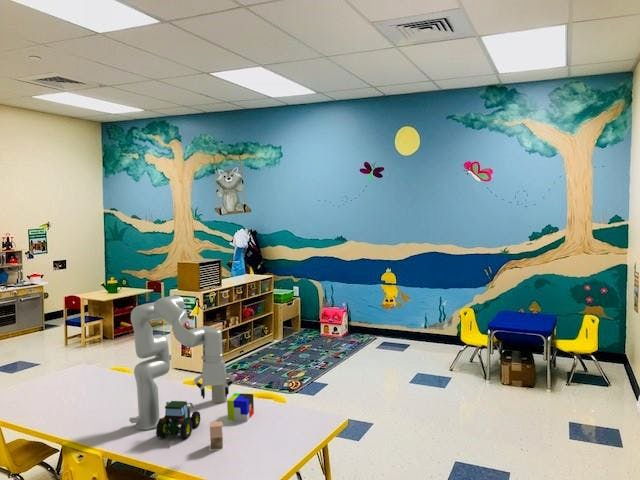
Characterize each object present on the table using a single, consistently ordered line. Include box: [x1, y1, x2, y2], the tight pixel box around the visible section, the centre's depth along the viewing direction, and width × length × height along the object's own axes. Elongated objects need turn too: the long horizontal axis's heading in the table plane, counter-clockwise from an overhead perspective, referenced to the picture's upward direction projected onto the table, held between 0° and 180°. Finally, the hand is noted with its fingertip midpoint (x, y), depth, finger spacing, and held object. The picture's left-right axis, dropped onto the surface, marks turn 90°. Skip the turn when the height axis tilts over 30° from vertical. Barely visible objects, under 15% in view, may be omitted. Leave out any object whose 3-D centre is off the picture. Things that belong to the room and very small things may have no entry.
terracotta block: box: [209, 421, 223, 439], centre depth 228 cm, size 5×5×5 cm
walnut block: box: [209, 434, 224, 451], centre depth 229 cm, size 5×5×5 cm
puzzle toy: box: [226, 392, 255, 422], centre depth 262 cm, size 10×10×10 cm
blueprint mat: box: [208, 441, 226, 452], centre depth 229 cm, size 14×12×1 cm
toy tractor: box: [155, 400, 201, 440], centre depth 245 cm, size 14×22×15 cm, turn 171°
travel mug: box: [211, 384, 228, 404], centre depth 283 cm, size 8×8×18 cm
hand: (215, 396), depth 228 cm, fingers open, 9 cm apart
